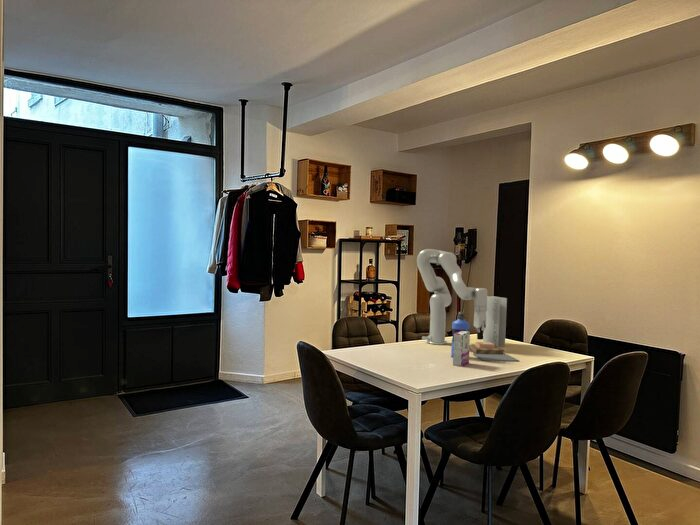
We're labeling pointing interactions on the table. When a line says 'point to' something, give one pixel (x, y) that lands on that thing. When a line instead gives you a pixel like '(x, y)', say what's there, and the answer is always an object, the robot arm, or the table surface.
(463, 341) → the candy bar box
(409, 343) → the table surface
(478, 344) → the tile
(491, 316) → the tall grey box
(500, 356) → the mat
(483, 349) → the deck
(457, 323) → the water bottle
